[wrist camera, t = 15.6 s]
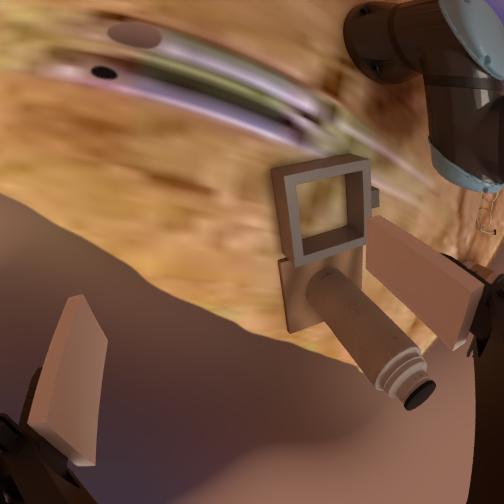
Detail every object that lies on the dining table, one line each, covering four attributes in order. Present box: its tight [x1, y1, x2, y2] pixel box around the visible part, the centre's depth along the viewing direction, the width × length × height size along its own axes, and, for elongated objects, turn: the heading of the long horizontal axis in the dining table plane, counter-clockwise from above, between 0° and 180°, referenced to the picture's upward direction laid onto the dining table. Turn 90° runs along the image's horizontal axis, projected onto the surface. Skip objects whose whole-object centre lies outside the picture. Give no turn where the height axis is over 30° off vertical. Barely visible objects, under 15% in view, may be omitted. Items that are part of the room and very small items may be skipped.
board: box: [278, 246, 363, 334], centre depth 55 cm, size 16×16×1 cm
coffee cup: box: [462, 260, 504, 285], centre depth 64 cm, size 11×11×15 cm
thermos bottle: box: [306, 268, 436, 410], centre depth 42 cm, size 8×8×28 cm
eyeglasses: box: [476, 192, 498, 235], centre depth 62 cm, size 17×15×5 cm
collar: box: [271, 154, 379, 268], centre depth 46 cm, size 16×14×5 cm
